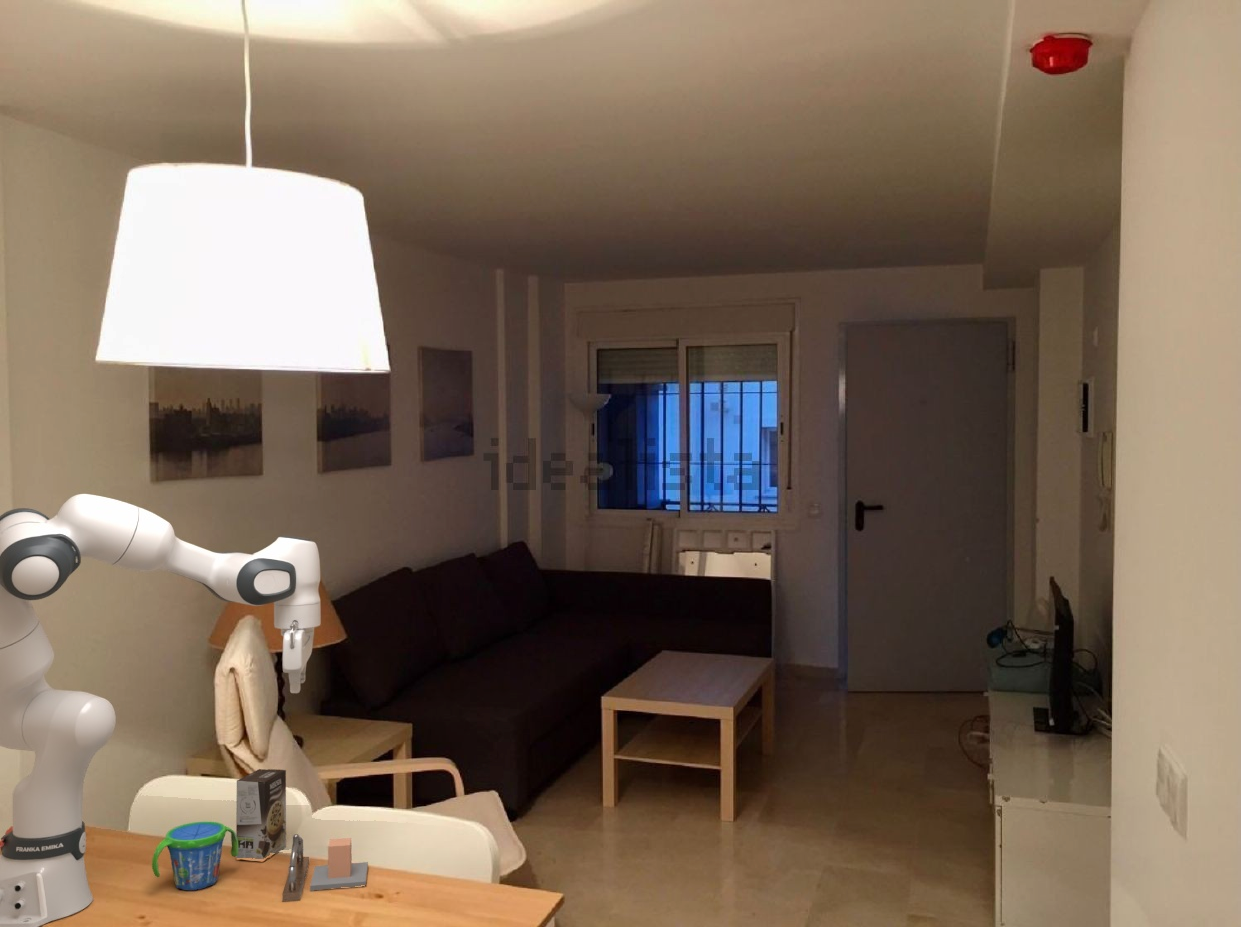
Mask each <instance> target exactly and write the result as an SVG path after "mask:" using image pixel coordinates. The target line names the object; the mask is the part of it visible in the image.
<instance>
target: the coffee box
mask: <svg viewBox="0 0 1241 927" xmlns="http://www.w3.org/2000/svg"><path fill="white" fill-rule="evenodd" d="M235 822H236V824H235V825H236V827H235V828H236V831H235V832H236V836H237V839H238V848H239V849H238V854H237V856H236V857H235V859H236V858H252V859H253V858H255V859H264V858H266V857H267V856H269V855H270V853H276V854H278V853H279V852H281V851H283V850H284V849H285V848H286V847H287V769H271V768H270V769H266V768H265V769H264V768H263V769H262V768H261V769H260V768H259V769H257V770H254V771H253V772H251V773H249V774H247V775H245V776H243V777H241V778H239V779H237V780H236V821H235Z"/></svg>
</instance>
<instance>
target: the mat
mask: <svg viewBox="0 0 1241 927" xmlns="http://www.w3.org/2000/svg"><path fill="white" fill-rule="evenodd" d="M351 865H352V869H351V875H350V877H341V878H328V864H327V865H326V864H325V865H323V864H322V865H315V866H314V870H313V873H312V876H311V882H310V885H309V887H310V888H309V889H310V890H309V891H310V892H315V891H314V890H319V891H321V890H320V889H331V888H341V887H355V886H361V885H367V879H366V877H367V878H368V870H367V868H369V863H368V861H366V862H365V861H363V862H353V863H352V862H351Z"/></svg>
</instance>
